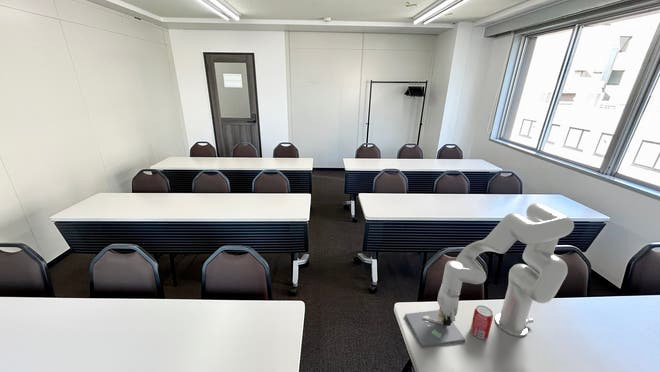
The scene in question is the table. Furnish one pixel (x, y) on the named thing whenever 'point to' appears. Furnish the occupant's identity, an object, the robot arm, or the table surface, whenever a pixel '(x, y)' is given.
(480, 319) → the soda can
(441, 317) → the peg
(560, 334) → the table surface
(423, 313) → the grey flat slab
